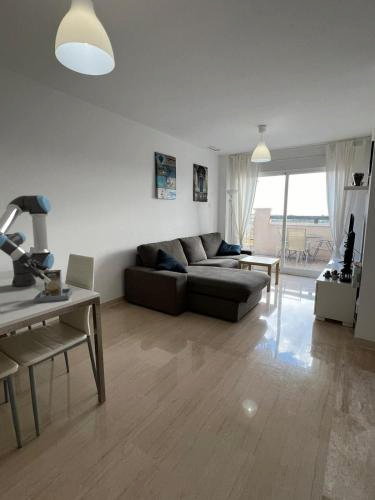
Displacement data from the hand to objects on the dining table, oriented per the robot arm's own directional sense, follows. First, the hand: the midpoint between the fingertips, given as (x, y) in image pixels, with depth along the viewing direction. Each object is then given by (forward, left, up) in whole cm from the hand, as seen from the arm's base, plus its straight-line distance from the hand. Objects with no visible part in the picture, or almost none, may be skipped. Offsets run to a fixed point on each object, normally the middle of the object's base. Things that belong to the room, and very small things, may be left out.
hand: (51, 279), depth 157 cm
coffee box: (0, +1, -11) cm, 11 cm away
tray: (0, +1, -12) cm, 12 cm away
